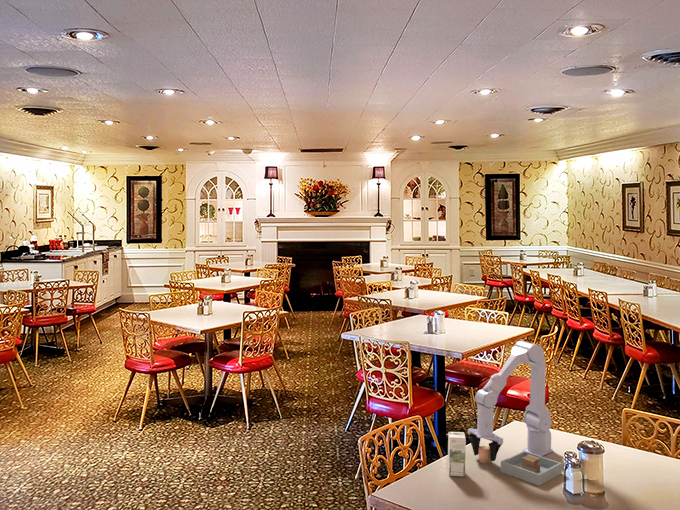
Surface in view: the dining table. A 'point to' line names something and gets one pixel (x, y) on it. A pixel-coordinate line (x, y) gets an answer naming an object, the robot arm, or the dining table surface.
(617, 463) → the dining table surface
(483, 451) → the peach rounded capsule
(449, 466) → the syrup box
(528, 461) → the walnut block
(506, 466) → the tote
